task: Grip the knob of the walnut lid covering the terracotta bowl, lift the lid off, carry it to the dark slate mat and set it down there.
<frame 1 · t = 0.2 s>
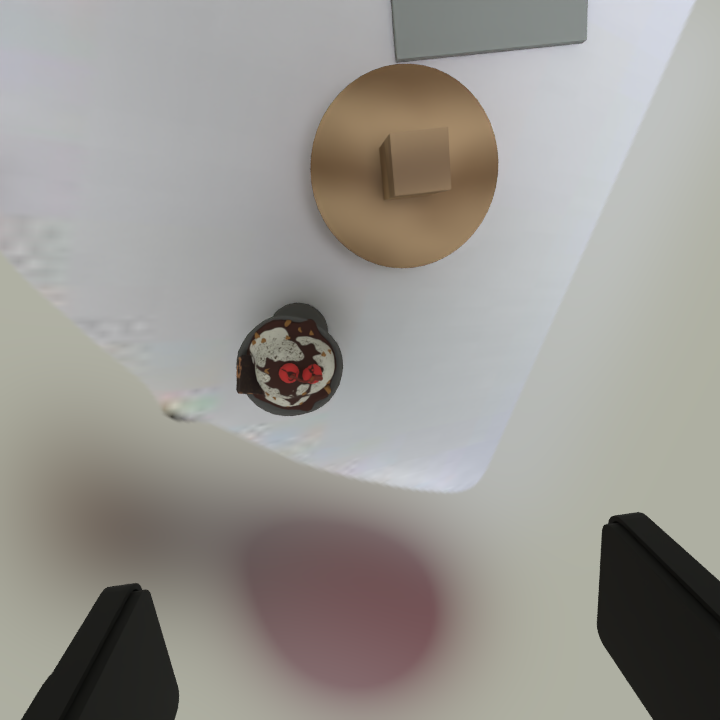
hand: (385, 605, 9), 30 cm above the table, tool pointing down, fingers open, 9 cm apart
sundae: (299, 330, 39), on the table
lid: (403, 173, 31), point 5 cm above the table, touching bowl
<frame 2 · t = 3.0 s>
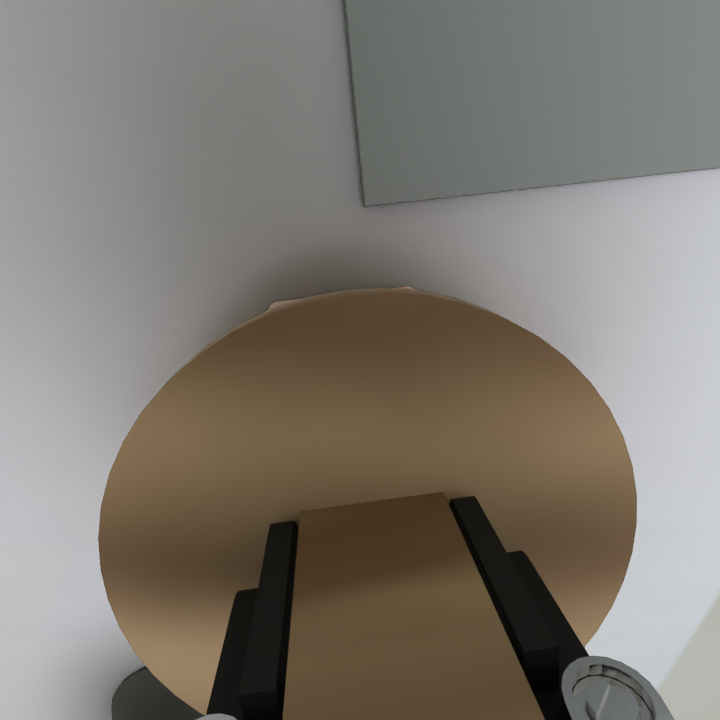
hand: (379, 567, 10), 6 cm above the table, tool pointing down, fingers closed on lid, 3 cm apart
sundae: (176, 702, 19), on the table
lid: (374, 533, 12), point 5 cm above the table, touching bowl, gripper
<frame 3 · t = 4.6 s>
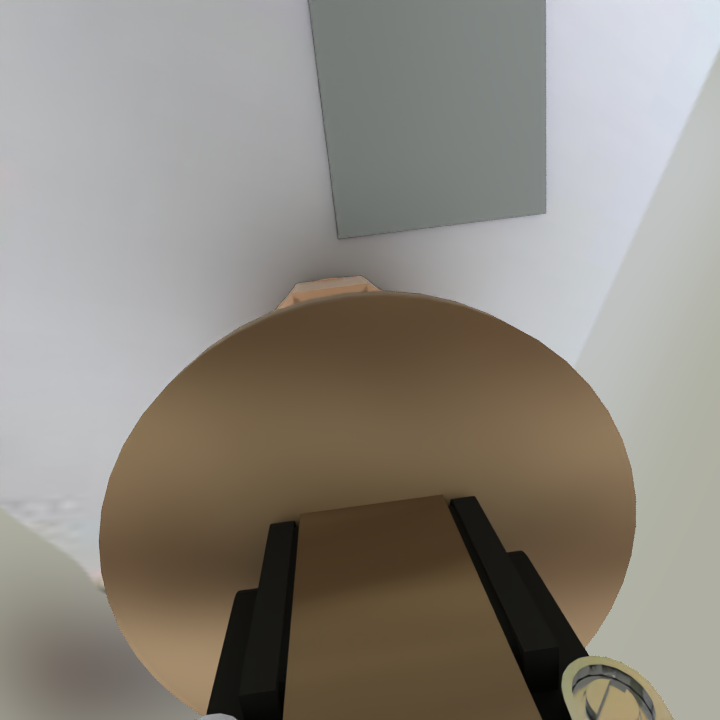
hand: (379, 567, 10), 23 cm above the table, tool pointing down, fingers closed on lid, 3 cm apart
bowl: (339, 354, 33), on the table
mat: (433, 111, 29), on the table
lid: (374, 535, 12), point 22 cm above the table, touching gripper
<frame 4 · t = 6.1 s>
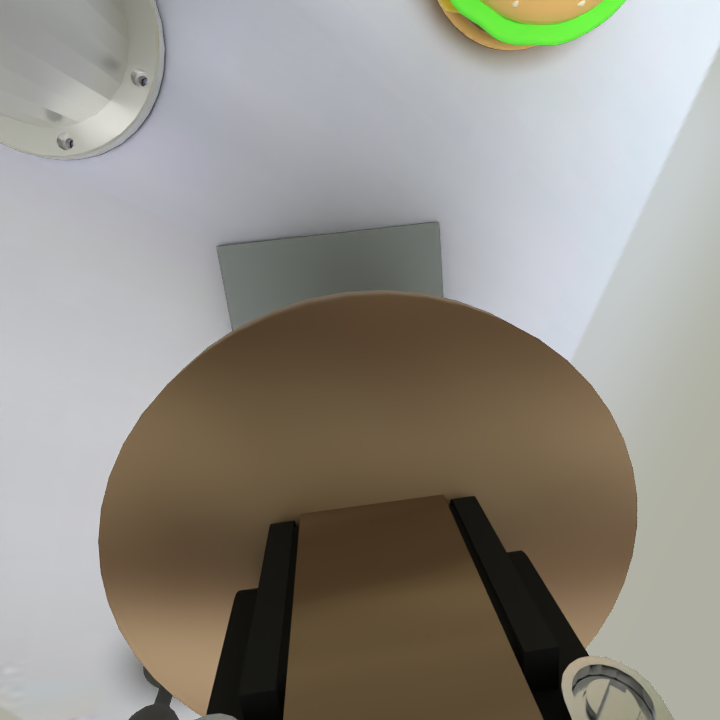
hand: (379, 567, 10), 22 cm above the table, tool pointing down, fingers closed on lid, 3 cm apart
sundae: (175, 664, 38), on the table
mat: (341, 339, 31), on the table
lid: (374, 535, 12), point 20 cm above the table, touching gripper
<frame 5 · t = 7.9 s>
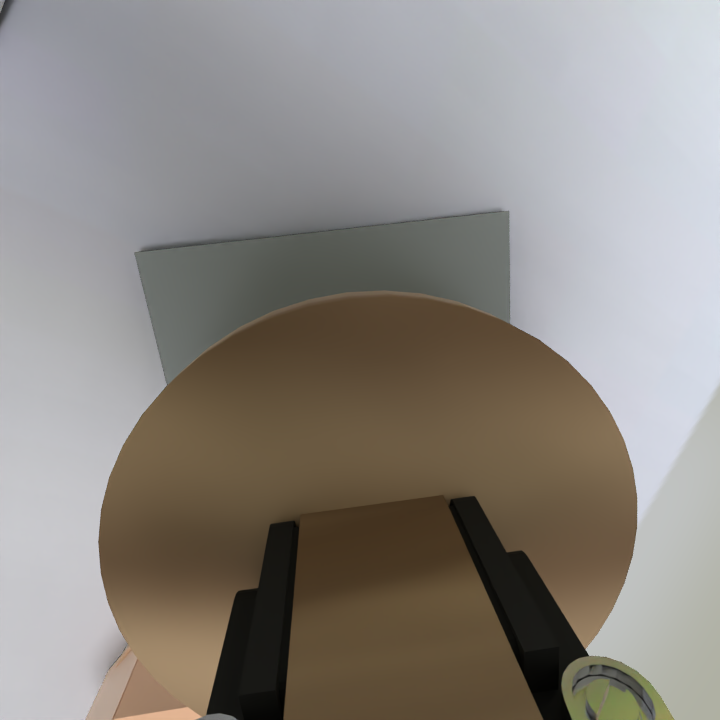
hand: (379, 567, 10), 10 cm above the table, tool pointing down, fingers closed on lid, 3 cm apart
bowl: (225, 686, 24), on the table
mat: (346, 399, 20), on the table
lid: (374, 535, 12), point 9 cm above the table, touching gripper
when the fingers open (3 cm above the table, at t = 9.5 s): lid drops 2 cm, resting on mat.
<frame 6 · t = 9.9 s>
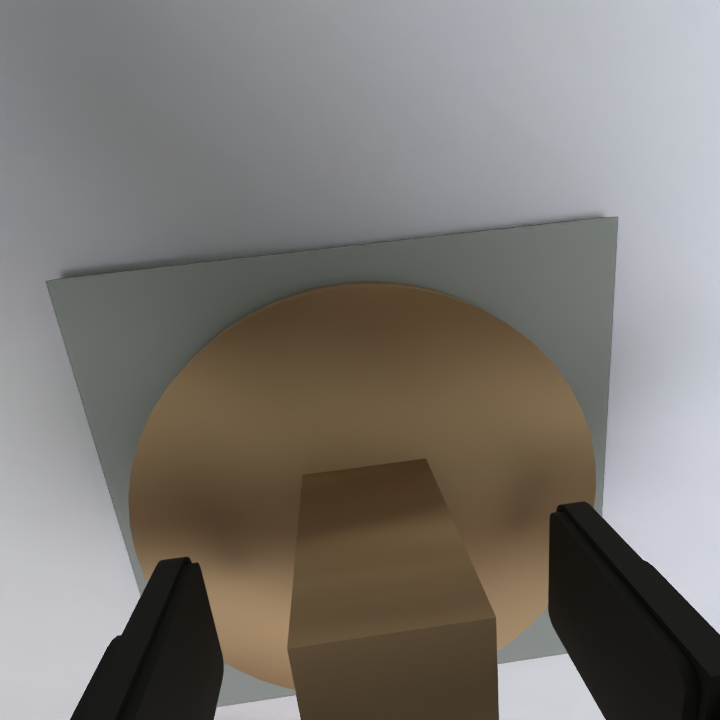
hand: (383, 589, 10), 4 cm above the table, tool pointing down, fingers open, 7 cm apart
mat: (366, 486, 14), on the table
lid: (367, 498, 13), point 1 cm above the table, touching mat
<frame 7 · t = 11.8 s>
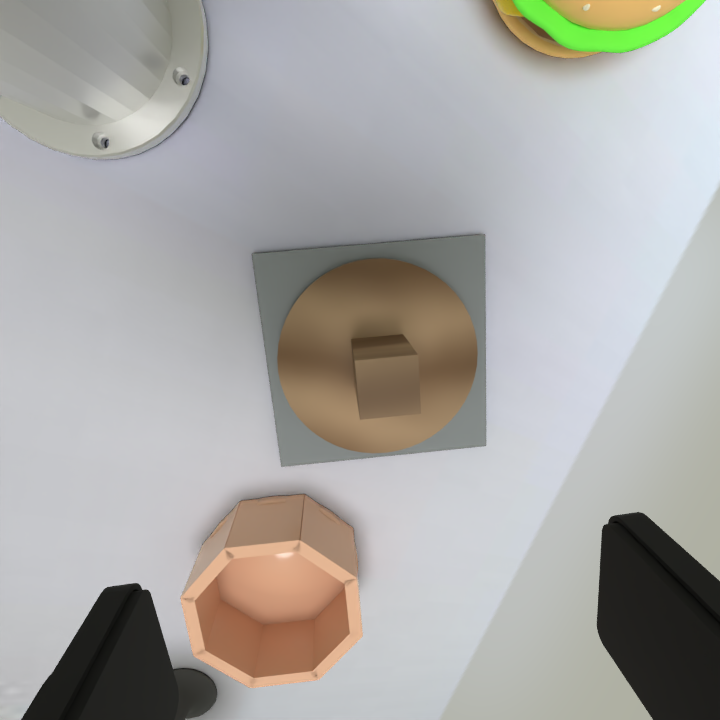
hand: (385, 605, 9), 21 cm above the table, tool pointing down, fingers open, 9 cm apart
sundae: (186, 689, 36), on the table
bowl: (282, 562, 33), on the table
mat: (376, 354, 30), on the table
lid: (377, 357, 29), point 1 cm above the table, touching mat
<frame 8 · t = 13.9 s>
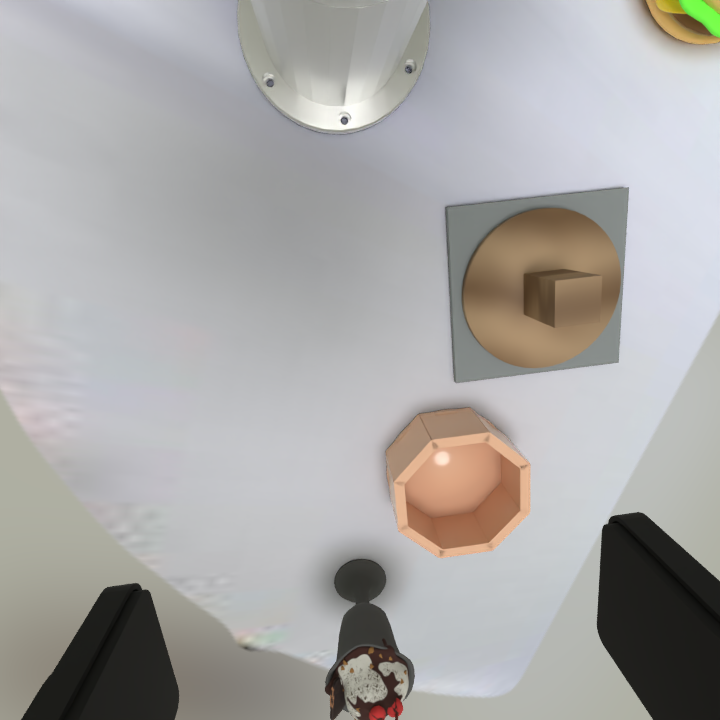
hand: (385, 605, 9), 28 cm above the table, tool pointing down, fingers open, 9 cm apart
sundae: (360, 578, 44), on the table
bowl: (447, 466, 41), on the table
mat: (535, 288, 37), on the table
lid: (537, 290, 36), point 1 cm above the table, touching mat
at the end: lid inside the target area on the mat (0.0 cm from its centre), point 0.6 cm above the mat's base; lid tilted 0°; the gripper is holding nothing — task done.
